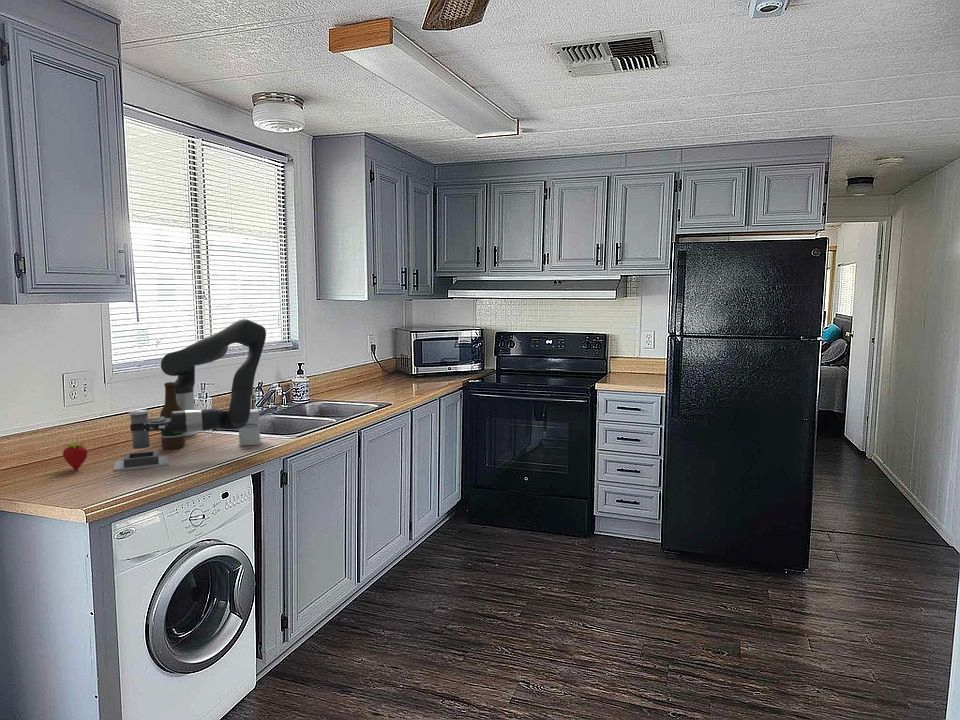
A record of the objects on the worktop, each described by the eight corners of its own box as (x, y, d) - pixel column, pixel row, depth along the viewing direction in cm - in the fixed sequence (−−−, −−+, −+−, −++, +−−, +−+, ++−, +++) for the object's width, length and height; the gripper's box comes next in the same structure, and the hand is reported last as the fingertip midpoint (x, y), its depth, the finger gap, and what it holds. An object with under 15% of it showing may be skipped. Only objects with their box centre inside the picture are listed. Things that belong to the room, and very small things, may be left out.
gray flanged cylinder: (131, 446, 225) (129, 410, 224) (151, 444, 228) (148, 409, 227) (131, 449, 220) (128, 413, 219) (151, 447, 223) (148, 411, 221)
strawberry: (73, 466, 222) (71, 436, 221) (93, 467, 221) (91, 437, 220) (59, 471, 217) (56, 440, 216) (79, 472, 215) (77, 441, 214)
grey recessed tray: (115, 463, 227) (115, 453, 226) (168, 457, 233) (167, 448, 233) (113, 471, 216) (112, 461, 215) (168, 465, 222) (168, 456, 222)
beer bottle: (173, 450, 244) (169, 384, 242) (157, 449, 247) (153, 383, 244) (189, 445, 251) (186, 381, 249) (173, 444, 254) (169, 380, 252)
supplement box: (238, 446, 249) (237, 412, 248) (240, 442, 256) (238, 409, 255) (259, 445, 251) (258, 411, 250) (260, 440, 258) (259, 408, 257)
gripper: (185, 407, 235) (130, 411, 228) (187, 413, 222) (129, 418, 215) (187, 428, 236) (132, 433, 229) (188, 435, 223) (130, 441, 216)
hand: (131, 426), depth 222 cm, fingers closed on gray flanged cylinder, 5 cm apart
